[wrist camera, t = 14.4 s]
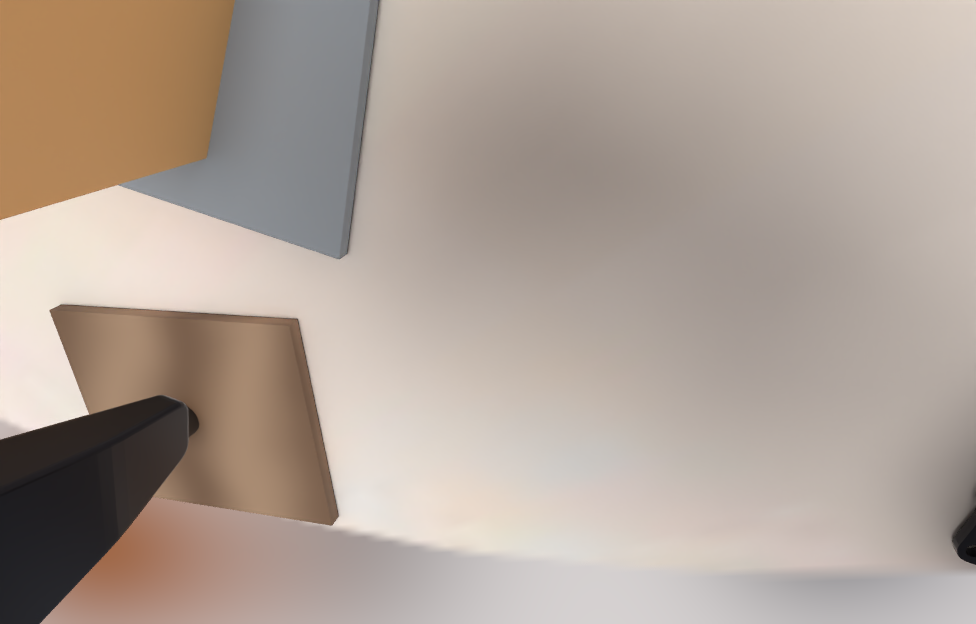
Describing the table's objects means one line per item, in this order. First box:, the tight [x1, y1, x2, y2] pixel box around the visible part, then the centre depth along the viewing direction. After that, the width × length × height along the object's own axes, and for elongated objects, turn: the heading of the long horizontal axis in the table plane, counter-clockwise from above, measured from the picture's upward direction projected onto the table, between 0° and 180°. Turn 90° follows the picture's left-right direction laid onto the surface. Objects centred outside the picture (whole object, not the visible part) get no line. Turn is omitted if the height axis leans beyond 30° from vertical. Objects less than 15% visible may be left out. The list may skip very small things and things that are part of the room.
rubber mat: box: [119, 0, 379, 259], centre depth 21 cm, size 14×12×1 cm
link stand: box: [50, 305, 338, 525], centre depth 27 cm, size 12×10×4 cm
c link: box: [0, 0, 235, 220], centre depth 17 cm, size 4×7×10 cm, turn 156°
